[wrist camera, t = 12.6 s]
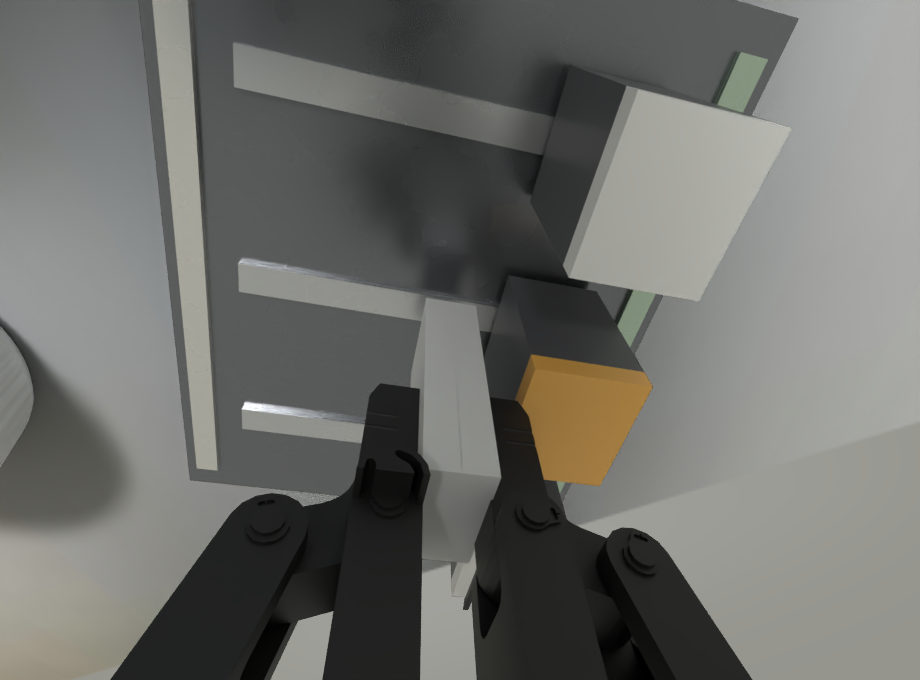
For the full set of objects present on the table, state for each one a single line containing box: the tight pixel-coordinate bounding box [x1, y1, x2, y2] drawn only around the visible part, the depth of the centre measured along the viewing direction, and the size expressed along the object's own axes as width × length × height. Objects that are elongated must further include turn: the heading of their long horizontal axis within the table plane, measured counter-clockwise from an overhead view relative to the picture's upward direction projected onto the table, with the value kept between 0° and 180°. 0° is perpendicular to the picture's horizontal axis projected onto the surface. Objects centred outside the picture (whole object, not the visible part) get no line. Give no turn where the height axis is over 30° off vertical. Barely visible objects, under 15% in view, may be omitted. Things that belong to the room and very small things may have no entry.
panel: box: [139, 0, 798, 501], centre depth 18 cm, size 16×20×2 cm
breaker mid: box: [484, 275, 653, 486], centre depth 15 cm, size 3×4×5 cm
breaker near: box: [530, 65, 792, 301], centre depth 12 cm, size 3×4×5 cm
